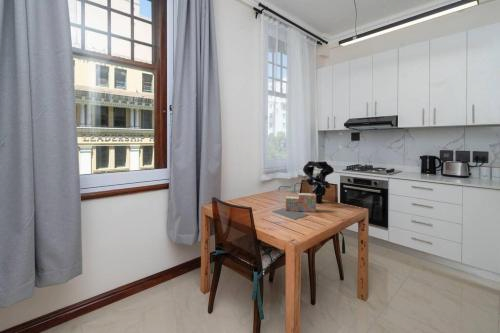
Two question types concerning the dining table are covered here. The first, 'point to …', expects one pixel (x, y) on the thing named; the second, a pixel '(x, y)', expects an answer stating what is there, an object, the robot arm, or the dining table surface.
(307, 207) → the stack of blocks
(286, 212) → the mat
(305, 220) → the dining table surface
